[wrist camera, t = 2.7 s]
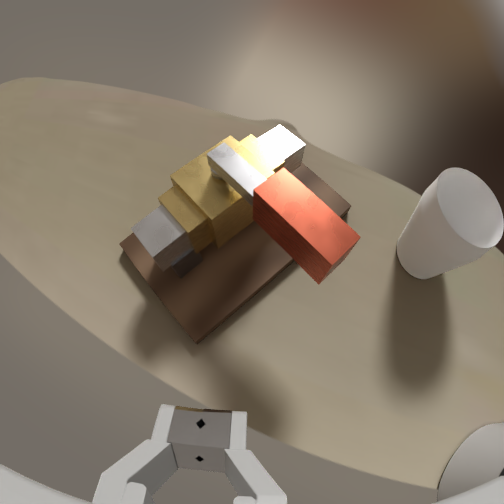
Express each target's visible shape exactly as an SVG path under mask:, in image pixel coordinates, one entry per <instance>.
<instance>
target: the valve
mask: <svg viewBox="0 0 504 504" xmlns="http://www.w3.org/2000/svg"><path fill="white" fill-rule="evenodd" d="M222 143H226V144H227V145H228V146H229V147H230V148H232V149H233V150H234V151H235V152H236V153H237V154H239V155H240V156H241V157H242V158H243V159H244V160H246V161H247V162H248V163H249V164H250V165H251V166H253V167H254V168H255V169H256V170H257V171H258V172H259V173H261V174H262V175H263V176H264V177H265V178H266V179H268V178H270V177H271V176H273V175H274V174H275V173H277V172H278V171H280V170H281V169H282V168H285V169H286V170H287V171H288V172H290V173H291V174H292V172H293V171H295V170H296V169H297V168H299V167H300V166H301V162H302V158H303V153H304V149H305V144H304V143H303V142H302V141H301V140H299V139H298V138H297V137H295V136H294V135H293V134H292V133H290V132H289V131H288V130H286V129H285V128H284V127H282V126H281V125H279V126H277V127H275V128H274V129H272V130H270V131H269V132H267V133H266V134H264V135H262V136H261V137H259V138H258V139H257V138H255V137H254V136H253V135H252V134H251V135H249V136H248V137H246V138H245V139H243V140H241V141H240V142H238V141H237V140H236V139H234V138H233V137H232V136H229V137H227V138H226V139H224V140H223V141H221V142H220V143H218V144H216V145H215V146H213V147H212V148H210V149H209V150H207V151H206V152H204V153H203V154H201V155H200V156H198V157H197V158H195V159H194V160H192V161H191V162H189V163H188V164H186V165H185V166H183V167H182V168H180V169H179V170H177V171H176V172H175V173H173V174H172V175H170V177H171V180H172V183H173V187H172V188H171V189H169V190H168V191H167V192H165V193H164V194H162V195H161V196H160V197H158V200H159V202H160V204H161V206H159V207H158V208H157V209H155V210H154V211H153V212H151V213H150V214H149V215H147V216H146V217H145V218H144V219H142V220H141V221H140V222H138V223H137V224H136V225H135V226H133V227H132V228H131V230H132V231H133V232H134V234H135V235H136V237H137V238H138V239H139V241H140V242H141V244H142V245H143V246H144V248H145V249H146V250H147V252H148V253H149V254H150V255H151V257H152V258H153V259H154V261H155V262H156V263H157V264H158V266H159V267H160V268H161V270H162V271H163V272H164V271H165V270H166V269H167V268H169V267H170V266H171V268H172V269H173V270H174V271H175V273H176V274H177V275H178V276H179V277H180V279H181V278H182V277H184V276H185V275H186V274H187V273H189V272H190V271H191V270H192V269H194V268H195V267H196V266H197V265H198V264H200V263H201V262H202V261H203V259H202V256H201V254H200V251H201V250H202V249H204V248H205V247H206V246H207V245H209V244H210V243H211V242H212V243H213V244H214V245H215V246H216V247H217V248H218V249H219V248H220V247H221V246H223V245H224V244H225V243H226V242H228V241H229V240H230V239H231V238H233V237H234V236H235V235H236V234H238V233H239V232H240V231H241V230H243V229H244V228H245V227H247V226H248V225H249V224H250V223H252V222H253V221H254V220H253V207H252V206H251V205H250V204H249V203H248V202H247V201H246V200H245V199H244V198H243V197H242V196H241V195H240V194H238V193H237V192H236V191H235V190H234V189H233V188H232V187H231V186H230V185H229V184H228V183H227V182H226V181H225V180H218V179H215V178H214V177H213V176H212V174H211V169H210V166H209V165H208V160H207V153H208V152H210V151H211V150H213V149H214V148H216V147H218V146H219V145H221V144H222Z"/></svg>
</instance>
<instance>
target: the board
mask: <svg viewBox="0 0 504 504" xmlns="http://www.w3.org/2000/svg"><path fill="white" fill-rule="evenodd" d="M292 175H293V176H294V177H295V178H297V179H298V180H299V181H300V182H301V183H302V184H303V185H305V186H306V187H307V188H308V189H309V190H310V191H311V192H312V193H314V194H315V195H316V196H317V197H318V198H319V199H320V200H321V201H323V202H324V203H325V204H326V205H327V206H328V207H329V208H330V209H331V210H332V211H334V212H335V213H336V214H337V215H338V216H339V217H340V218H342V217H343V216H344V215H345V214H346V213H347V212H348V211H349V209H350V207H351V205H350V204H349V203H348V202H347V201H346V200H344V199H343V198H342V197H341V196H340V195H339V194H338V193H337V192H336V191H334V190H333V189H332V188H331V187H330V186H329V185H328V184H326V183H325V182H324V181H323V180H322V179H321V178H319V177H318V176H317V175H316V174H315V173H314V172H312V171H311V170H310V169H309V168H308V167H306V166H305V165H304V164H303V163H302V162H301V166H300V167H299V168H297V169H296V170H295V171H293V172H292ZM120 246H121V247H122V248H123V250H124V251H125V253H126V254H127V255H128V257H129V258H130V260H131V261H132V262H133V264H134V265H135V267H136V268H137V269H138V271H139V272H140V273H141V275H142V276H143V277H144V279H145V280H146V281H147V283H148V284H149V285H150V287H151V288H152V289H153V291H154V292H155V293H156V295H157V296H158V297H159V299H160V300H161V301H162V302H163V304H164V305H165V306H166V307H167V309H168V310H169V311H170V313H171V314H172V315H173V316H174V318H175V319H176V320H177V321H178V322H179V324H180V325H181V326H182V327H183V329H184V330H185V331H186V332H187V333H188V335H189V336H190V337H191V338H192V339H193V341H194V342H195V343H197V344H198V343H199V342H200V341H201V340H203V339H204V338H205V337H206V336H207V335H209V334H210V333H211V332H212V331H213V330H215V329H216V328H217V327H218V326H219V325H220V324H222V323H223V322H224V321H225V320H226V319H228V318H229V317H230V316H231V315H232V314H233V313H235V312H236V311H237V310H238V309H239V308H240V307H242V306H243V305H244V304H245V303H246V302H247V301H249V300H250V299H251V298H252V297H253V296H254V295H256V294H257V293H258V292H259V291H260V290H261V289H262V288H264V287H265V286H266V285H267V284H268V283H269V282H270V281H272V280H273V279H274V278H275V277H276V276H277V275H278V274H280V273H281V272H282V271H283V270H284V269H285V268H286V267H287V266H289V265H290V264H291V263H292V262H293V261H294V259H293V258H292V257H291V256H290V255H289V254H288V253H287V252H286V251H285V250H284V249H283V248H282V247H281V246H280V245H279V244H278V243H277V242H276V241H275V240H274V239H273V238H272V237H271V236H270V235H268V234H267V233H266V232H265V231H264V230H263V229H262V228H261V227H260V226H259V225H258V224H257V223H256V222H255V221H253V222H252V223H250V224H249V225H248V226H247V227H245V228H244V229H243V230H241V231H240V232H239V233H238V234H236V235H235V236H234V237H233V238H231V239H230V240H229V241H228V242H226V243H225V244H224V245H223V246H221V247H220V248H219V249H218V248H217V247H216V246H215V245H214V244H213V243H212V242H211V243H210V244H209V245H207V246H206V247H205V248H204V249H202V250H201V251H200V254H201V256H202V259H203V261H202V262H201V263H200V264H198V265H197V266H196V267H195V268H194V269H192V270H191V271H190V272H189V273H187V274H186V275H185V276H184V277H182V278H181V279H180V277H179V276H178V275H177V274H176V273H175V271H174V270H173V269H172V268H171V266H170V267H169V268H167V269H166V270H165V271H164V272H163V271H162V270H161V268H160V267H159V266H158V264H157V263H156V262H155V261H154V259H153V258H152V257H151V255H150V254H149V253H148V252H147V250H146V249H145V248H144V246H143V245H142V244H141V242H140V241H139V239H138V238H137V237H136V235H135V234H134V232H133V233H132V234H131V235H130V236H128V237H127V238H126V239H125V240H123V241H122V242H121V243H120Z"/></svg>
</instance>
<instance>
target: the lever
mask: <svg viewBox="0 0 504 504" xmlns="http://www.w3.org/2000/svg"><path fill="white" fill-rule="evenodd" d="M207 160H208V165H209V166H210V169H211V174H212V176H213V177H214V178H215V179H218V180H225V181H226V182H227V183H228V184H229V185H230V186H231V187H232V188H233V189H234V190H235V191H236V192H237V193H238V194H240V195H241V196H242V197H243V198H244V199H245V200H246V201H247V202H248V203H249V204H250V205H251V206H252V207H253V220H254V221H255V222H256V223H257V224H258V225H259V226H260V227H261V228H262V229H263V230H264V231H265V232H266V233H267V234H268V235H270V236H271V237H272V238H273V239H274V240H275V241H276V242H277V243H278V244H279V245H280V246H281V247H282V248H283V249H284V250H285V251H286V252H287V253H288V254H289V255H290V256H291V257H292V258H293V259H294V260H295V261H296V262H297V263H298V264H299V265H300V266H301V267H302V268H303V269H304V270H305V271H306V272H307V273H308V274H309V275H310V276H311V277H312V278H313V279H314V280H315V281H316V282H317V284H318V285H319V284H320V283H321V282H322V281H323V280H324V279H325V278H326V277H327V276H328V275H329V274H330V273H331V272H332V271H333V270H334V269H335V268H336V267H337V266H338V265H339V264H340V263H341V262H342V261H343V260H344V259H345V258H346V257H347V255H348V254H349V253H350V251H351V250H352V248H353V247H354V246H355V244H356V243H357V242H358V240H359V239H360V236H359V235H358V234H357V233H356V232H355V231H354V230H353V229H352V228H351V227H350V226H349V225H347V224H346V223H345V222H344V221H343V220H342V219H341V218H340V217H339V216H338V215H337V214H336V213H335V212H334V211H332V210H331V209H330V208H329V207H328V206H327V205H326V204H325V203H324V202H323V201H321V200H320V199H319V198H318V197H317V196H316V195H315V194H314V193H312V192H311V191H310V190H309V189H308V188H307V187H306V186H305V185H303V184H302V183H301V182H300V181H299V180H298V179H297V178H295V177H294V176H293V175H292V174H291V173H290V172H288V171H287V170H286V169H285V168H282V169H281V170H280V171H278V172H277V173H275V174H274V175H273V176H271V177H270V178H268V179H266V178H265V177H264V176H263V175H262V174H261V173H259V172H258V171H257V170H256V169H255V168H254V167H253V166H251V165H250V164H249V163H248V162H247V161H246V160H244V159H243V158H242V157H241V156H240V155H239V154H237V153H236V152H235V151H234V150H233V149H232V148H230V147H229V146H228V145H227V144H226V143H222V144H221V145H219V146H218V147H216V148H214V149H213V150H211V151H210V152H208V153H207Z"/></svg>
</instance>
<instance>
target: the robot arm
mask: <svg viewBox="0 0 504 504" xmlns="http://www.w3.org/2000/svg"><path fill="white" fill-rule="evenodd" d="M246 437H247V412H242V411H228V410H211V409H195V408H187V407H180V406H172V405H166V404H162V405H161V406H160V409H159V412H158V415H157V419H156V422H155V426H154V430H153V433H152V437H151V440H149V439H147V440H145V441H144V442H143V443H141V444H140V445H139V446H137V447H136V448H135V449H133V450H132V451H131V452H130V453H128V454H127V455H126V456H124V457H123V458H122V459H120V460H119V461H118V462H117V463H115V464H114V465H112V466H111V467H110V468H108V469H107V470H106V471H104V472H103V473H102V474H101V477H100V480H99V483H98V486H97V489H96V492H95V495H94V498H93V501H92V503H90V502H88V501H84V500H81V499H79V498H76V497H73V496H70V495H68V494H65V493H63V492H60V491H57V490H55V489H52V488H50V487H48V486H45V485H43V484H41V483H38V482H36V481H34V480H32V479H30V478H28V477H25V476H23V475H21V474H19V473H17V472H15V471H13V470H11V469H9V468H7V467H6V466H4V465H1V464H0V504H155V502H154V501H153V499H152V497H151V496H152V495H153V494H154V493H155V492H156V491H157V490H158V489H159V488H160V487H161V486H162V485H163V484H164V483H165V482H166V481H167V480H168V479H169V478H170V477H171V476H172V475H173V474H174V473H175V472H176V471H177V470H178V468H184V469H194V470H204V471H213V472H223V473H225V474H226V476H227V477H228V479H229V481H230V482H231V484H232V486H233V487H234V489H235V491H236V492H237V494H238V495H239V496H238V497H236V498H235V499H234V504H287V496H286V494H285V493H284V492H283V491H282V490H281V488H280V487H279V486H278V485H277V484H276V482H275V481H274V480H273V479H272V477H271V476H270V475H269V474H268V472H267V471H266V470H265V468H264V467H263V466H262V465H261V463H260V462H259V461H258V460H257V458H256V457H255V455H254V454H253V453H252V451H251V450H246ZM431 504H504V422H503V423H494V424H489V425H486V426H483V427H481V428H480V429H478V430H477V431H475V432H474V433H473V434H471V435H470V436H469V437H468V438H467V439H466V440H465V441H464V442H463V443H462V444H461V445H460V447H459V448H458V449H457V451H456V452H455V453H454V455H453V456H452V458H451V460H450V461H449V463H448V465H447V467H446V469H445V471H444V473H443V476H442V478H441V481H440V485H439V489H438V495H437V502H435V503H431Z"/></svg>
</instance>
